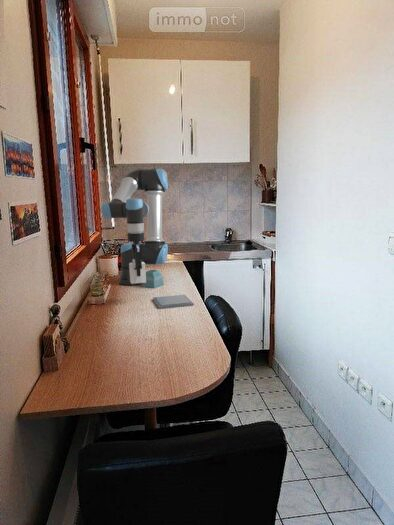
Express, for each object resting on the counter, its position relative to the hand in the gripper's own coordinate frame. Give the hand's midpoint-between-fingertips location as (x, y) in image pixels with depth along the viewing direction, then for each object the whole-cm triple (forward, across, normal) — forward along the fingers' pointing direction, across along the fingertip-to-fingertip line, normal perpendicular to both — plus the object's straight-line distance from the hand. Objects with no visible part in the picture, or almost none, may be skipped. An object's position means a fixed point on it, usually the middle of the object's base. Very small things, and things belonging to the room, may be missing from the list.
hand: (138, 281), depth 179 cm
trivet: (+10, +8, +15) cm, 19 cm away
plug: (0, 0, 0) cm, 0 cm away
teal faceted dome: (+1, -28, +12) cm, 30 cm away
